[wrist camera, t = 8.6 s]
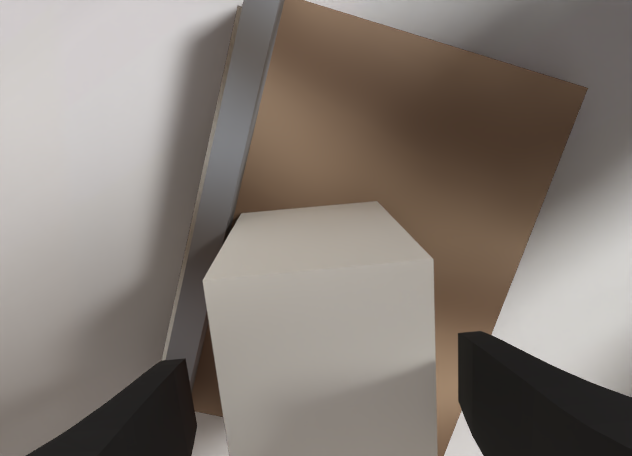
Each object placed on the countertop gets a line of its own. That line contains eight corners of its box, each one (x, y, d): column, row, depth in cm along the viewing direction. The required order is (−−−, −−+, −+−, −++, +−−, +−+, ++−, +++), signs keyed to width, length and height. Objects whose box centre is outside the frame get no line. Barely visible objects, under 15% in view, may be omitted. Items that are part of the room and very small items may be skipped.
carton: (376, 201, 17) (433, 259, 10) (385, 370, 18) (438, 520, 11) (235, 213, 16) (193, 281, 10) (257, 383, 18) (234, 542, 11)
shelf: (253, -7, 16) (244, -35, 13) (568, 90, 17) (624, 84, 14) (166, 386, 19) (143, 434, 16) (433, 442, 21) (455, 496, 18)
